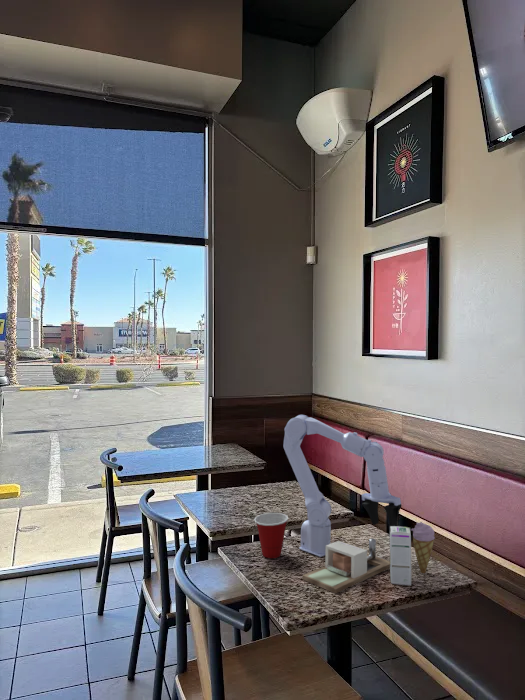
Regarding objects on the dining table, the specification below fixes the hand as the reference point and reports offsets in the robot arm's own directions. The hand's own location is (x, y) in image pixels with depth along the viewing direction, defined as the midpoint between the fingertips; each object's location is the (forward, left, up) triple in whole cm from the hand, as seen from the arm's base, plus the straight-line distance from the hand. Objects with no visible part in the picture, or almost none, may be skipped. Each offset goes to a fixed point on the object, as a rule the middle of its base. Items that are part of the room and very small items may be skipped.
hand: (384, 525), depth 167 cm
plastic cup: (-26, -24, -11) cm, 37 cm away
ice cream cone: (+13, 0, -11) cm, 17 cm away
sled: (-1, -13, -9) cm, 16 cm away
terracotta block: (-1, -20, -8) cm, 21 cm away
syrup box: (+12, -10, -11) cm, 19 cm away
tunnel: (-1, -18, -9) cm, 20 cm away
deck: (-1, -17, -10) cm, 20 cm away
